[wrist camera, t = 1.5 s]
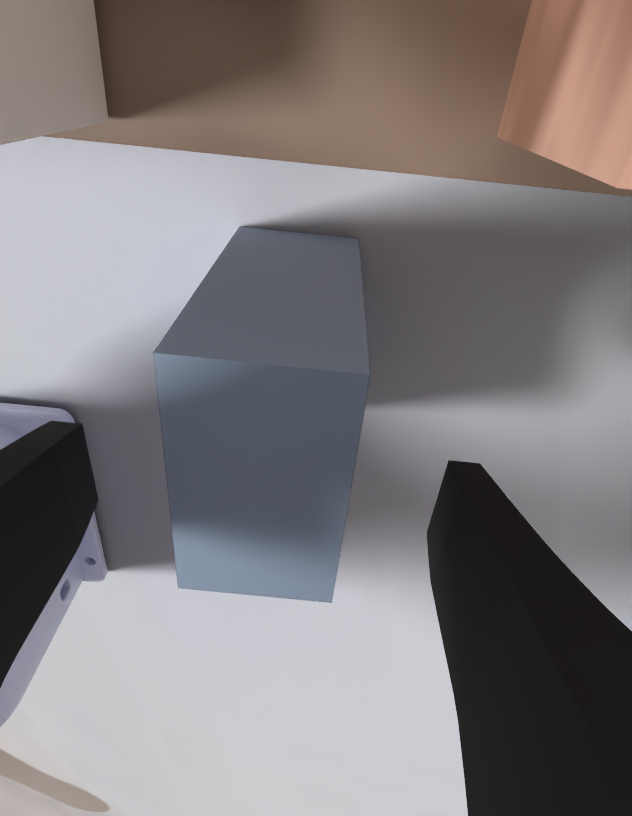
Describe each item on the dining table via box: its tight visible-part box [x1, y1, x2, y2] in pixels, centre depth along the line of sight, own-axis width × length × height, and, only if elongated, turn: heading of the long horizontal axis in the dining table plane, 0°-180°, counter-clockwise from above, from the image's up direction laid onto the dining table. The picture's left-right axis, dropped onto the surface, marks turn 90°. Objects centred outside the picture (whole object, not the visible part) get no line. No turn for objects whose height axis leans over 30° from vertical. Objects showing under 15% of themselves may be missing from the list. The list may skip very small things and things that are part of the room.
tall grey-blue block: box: [153, 226, 370, 603], centre depth 13 cm, size 6×4×8 cm, turn 175°
